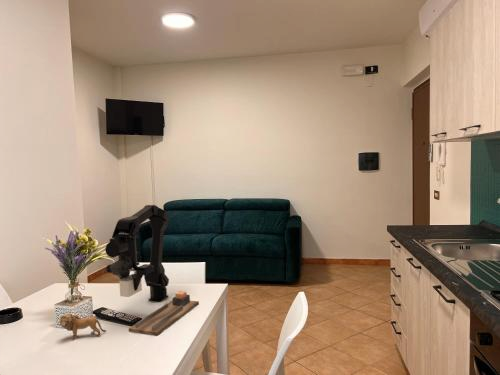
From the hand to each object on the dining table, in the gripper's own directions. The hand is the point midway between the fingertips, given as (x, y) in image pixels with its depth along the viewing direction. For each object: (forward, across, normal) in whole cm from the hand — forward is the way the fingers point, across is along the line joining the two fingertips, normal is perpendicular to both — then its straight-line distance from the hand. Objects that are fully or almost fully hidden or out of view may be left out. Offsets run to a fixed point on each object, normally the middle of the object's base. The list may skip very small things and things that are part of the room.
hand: (131, 290), depth 146 cm
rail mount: (+11, +13, +4) cm, 17 cm away
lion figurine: (+11, -7, -19) cm, 23 cm away
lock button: (+8, +13, +15) cm, 21 cm away
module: (+1, 0, 0) cm, 1 cm away
